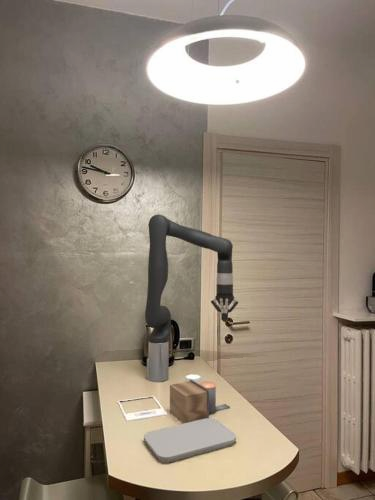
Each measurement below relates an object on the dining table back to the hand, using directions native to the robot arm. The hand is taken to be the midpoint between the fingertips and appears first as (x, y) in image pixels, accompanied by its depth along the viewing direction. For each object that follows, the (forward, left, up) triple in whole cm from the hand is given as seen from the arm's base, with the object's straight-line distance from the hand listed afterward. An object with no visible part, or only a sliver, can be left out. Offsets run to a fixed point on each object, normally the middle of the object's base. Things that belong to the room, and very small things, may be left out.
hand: (224, 321), depth 168 cm
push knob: (0, -34, -27) cm, 43 cm away
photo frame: (-25, -37, -28) cm, 53 cm away
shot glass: (-10, -18, -27) cm, 34 cm away
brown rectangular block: (-2, -35, -27) cm, 44 cm away
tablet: (-1, -56, -28) cm, 62 cm away
